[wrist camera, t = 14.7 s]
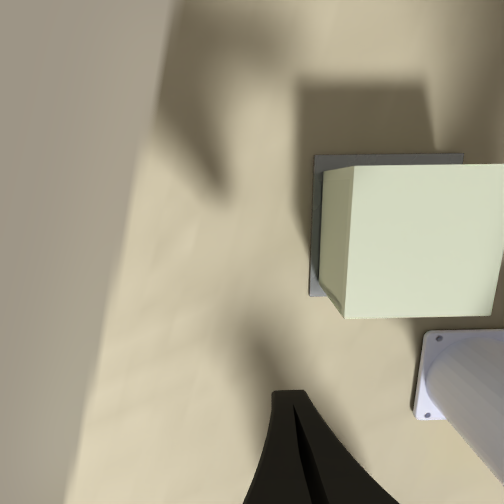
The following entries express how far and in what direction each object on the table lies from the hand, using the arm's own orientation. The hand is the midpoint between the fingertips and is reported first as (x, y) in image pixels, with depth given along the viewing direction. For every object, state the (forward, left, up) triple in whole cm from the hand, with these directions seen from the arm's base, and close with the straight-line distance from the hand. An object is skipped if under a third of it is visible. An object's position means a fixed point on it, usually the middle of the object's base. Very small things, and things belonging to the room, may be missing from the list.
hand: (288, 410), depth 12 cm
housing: (-8, -6, -10) cm, 14 cm away
